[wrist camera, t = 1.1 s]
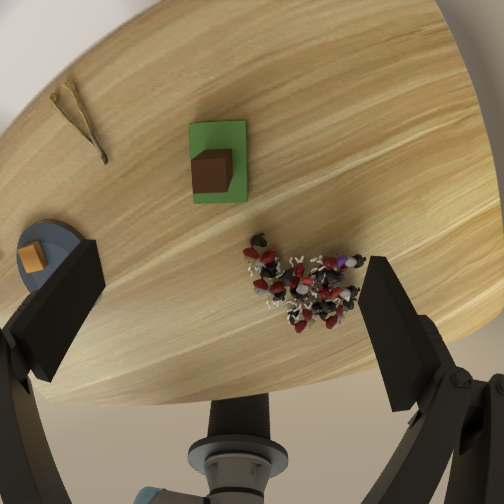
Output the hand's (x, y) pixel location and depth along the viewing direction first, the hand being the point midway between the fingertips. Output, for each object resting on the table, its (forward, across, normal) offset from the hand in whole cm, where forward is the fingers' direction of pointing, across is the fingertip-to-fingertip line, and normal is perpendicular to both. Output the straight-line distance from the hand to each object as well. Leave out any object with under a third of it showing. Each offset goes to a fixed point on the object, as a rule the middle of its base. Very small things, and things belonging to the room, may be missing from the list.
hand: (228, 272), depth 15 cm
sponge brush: (+24, +3, +1) cm, 24 cm away
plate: (+22, +28, +16) cm, 39 cm away
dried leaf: (+22, +21, -4) cm, 30 cm away
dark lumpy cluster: (+23, -8, +15) cm, 29 cm away
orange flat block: (+20, +31, +14) cm, 40 cm away
